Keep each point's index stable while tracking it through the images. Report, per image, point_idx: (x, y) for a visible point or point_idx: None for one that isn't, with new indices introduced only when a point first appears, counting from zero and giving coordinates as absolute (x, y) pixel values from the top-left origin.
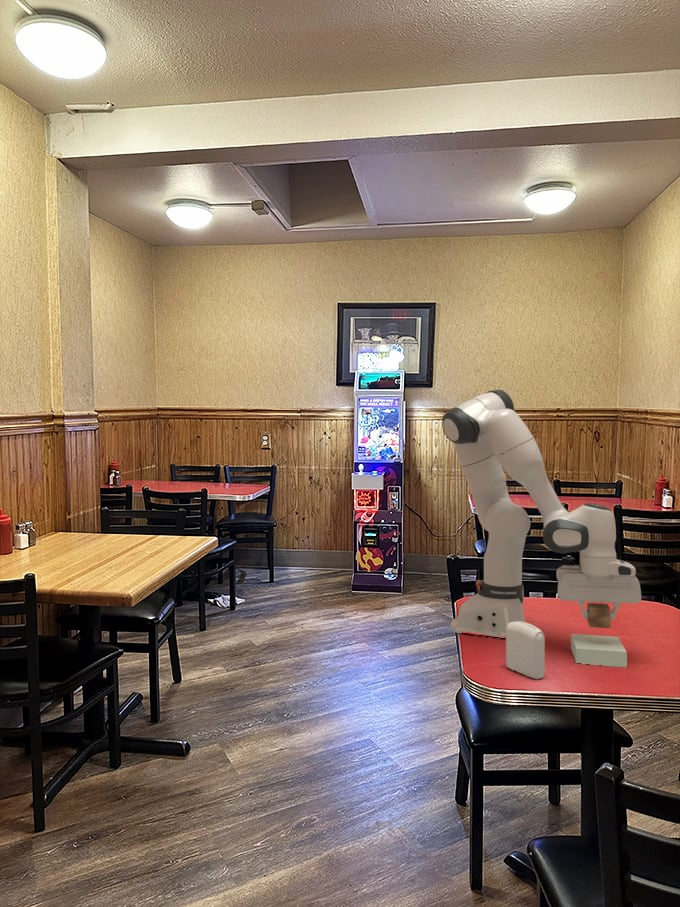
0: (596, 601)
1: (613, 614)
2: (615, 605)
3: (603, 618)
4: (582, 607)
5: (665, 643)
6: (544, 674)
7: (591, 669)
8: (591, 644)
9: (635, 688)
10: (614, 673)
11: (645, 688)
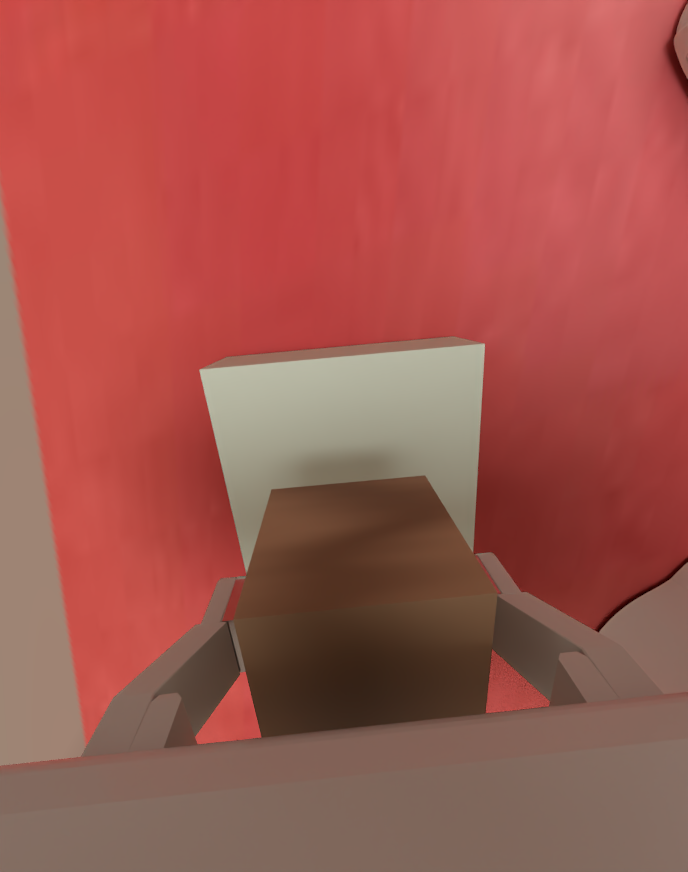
0: (427, 723)
1: (224, 609)
2: (160, 711)
3: (323, 528)
4: (557, 628)
5: (98, 671)
6: (679, 31)
7: (389, 276)
8: (388, 440)
9: (173, 10)
10: (283, 250)
11: (120, 32)
